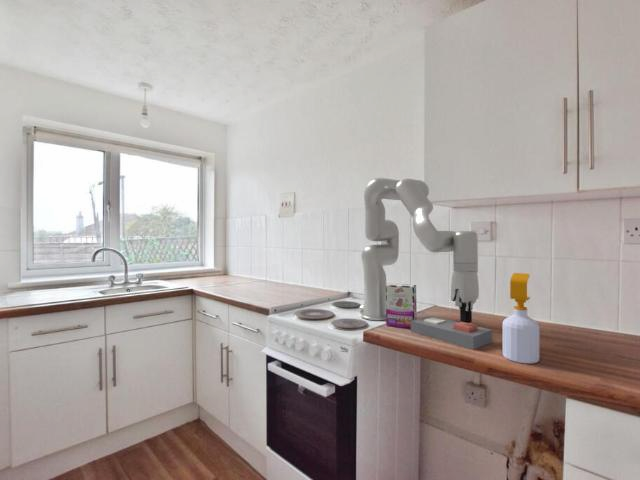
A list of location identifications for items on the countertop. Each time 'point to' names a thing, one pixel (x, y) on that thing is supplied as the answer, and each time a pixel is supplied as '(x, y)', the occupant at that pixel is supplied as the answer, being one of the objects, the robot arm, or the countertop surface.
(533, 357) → the soap bottle
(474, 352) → the countertop surface
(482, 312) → the countertop surface
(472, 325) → the brick-red key
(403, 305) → the candy bar box
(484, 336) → the key console
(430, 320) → the ivory key
